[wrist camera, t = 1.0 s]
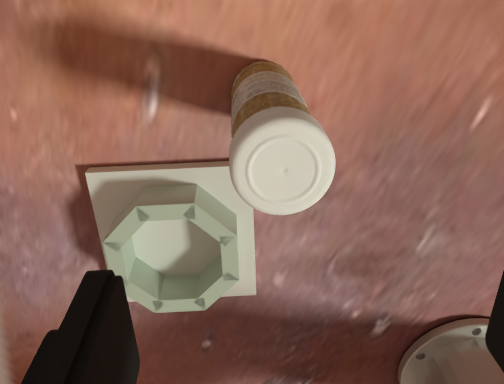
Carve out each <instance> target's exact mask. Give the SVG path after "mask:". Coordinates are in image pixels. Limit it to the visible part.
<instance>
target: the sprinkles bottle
mask: <svg viewBox="0 0 504 384" xmlns="http://www.w3.org/2000/svg"><path fill="white" fill-rule="evenodd" d="M231 99H232V108H231V133H232V141H231V144H230V149H229V170H230V177H231V181H232V184H233V186H234V188H235V190H236V192H237V193H238V195H239V196H240V197H241V198H242V199H243V200H244V201H245V202H246V203H247V204H248V205H249V206H251V207H252V208H254V209H256V210H258V211H261V212H264V213H267V214H273V215H289V214H293V213H297V212H300V211H303V210H305V209H307V208H309V207H310V206H312V205H313V204H315V203H316V202H317V201H318V200H319V199H321V198H322V196H323V195H324V194H325V193H326V191H327V190H328V188H329V186H330V184H331V182H332V180H333V177H334V172H335V154H334V150H333V147H332V145H331V142H330V140H329V138H328V136H327V135H326V133H325V131H324V129H323V128H322V126H321V125H320V124H319V123H318V121H317V120H315V119H314V118H313V117H312V116H311V114H310V112H309V110H308V107H307V105H306V103H305V101H304V99H303V97H302V96H301V94H300V92H299V91H298V89H297V87H296V86H295V84H294V81H293V79H292V77H291V76H290V74H289V73H288V72H287V71H286V70H285V69H284V68H283V67H282V66H280V65H278V64H275V63H273V62H268V61H260V62H254V63H252V64H250V65H248V66H246V67H245V68H243V69H242V70H241V71H240V72H239V73H238V75H237V76H236V78H235V80H234V83H233V85H232V89H231Z"/></svg>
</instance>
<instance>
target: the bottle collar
mask: <svg viewBox="0 0 504 384" xmlns="http://www.w3.org/2000/svg"><path fill="white" fill-rule="evenodd" d="M85 176H86V180H87V184H88V189H89V193H90V198H91V202H92V206H93V211H94V215H95V220H96V224H97V228H98V233H99V237H100V241H101V246H102V250H103V255H104V259H105V263H106V268H107V270H113V272H114V273H115V276H117V275H120V276H122V278H123V282H124V287H125V291H126V296H127V301H128V302H134V301H136V302H138V303H140V304H141V305H143V306H144V307H146V308H148V309H149V310H151V311H152V312H154V313H165V312H183V311H201V310H206V309H207V308H209V307H210V306H211V305H212V304H213V303H214V302H215V301H216V300H217V299H219V298H220V297H227V296H246V295H256V273H255V245H254V218H253V208H252V207H251V206H249V205H248V204H247V203H246V202H245V201H244V200H243V199H242V198H241V197H240V196H239V195H238V193H237V192H236V190H235V188H234V186H233V184H232V181H231V177H230V170H229V161H217V162H196V163H175V164H153V165H132V166H110V167H89V168H88V170H87V171H86V172H85Z"/></svg>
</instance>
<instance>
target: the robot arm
mask: <svg viewBox="0 0 504 384" xmlns="http://www.w3.org/2000/svg"><path fill="white" fill-rule="evenodd" d="M139 364H140V360H139V352H138V348H137V343H136V338H135V334H134V329H133V324H132V320H131V315H130V310H129V305H128V301H127V296H126V291H125V287H124V282H123V278H122V276H120V275H117V276H115V273H114V272H113V270H96V271H87V272H86V274H85V275H84V277H83V279H82V281H81V284H80V286H79V288H78V290H77V292H76V294H75V296H74V298H73V300H72V302H71V304H70V307H69V309H68V311H67V313H66V315H65V317H64V319H63V321H62V323H61V325H60V327H59V329H57V330H51V331H49V332H48V333H47V334H46V336H45V337H44V339H43V341H42V343H41V345H40V347H39V349H38V351H37V353H36V355H35V357H34V359H33V361H32V363H31V365H30V367H29V369H28V371H27V373H26V375H25V377H24V379H23V381H22V383H21V384H136V381H137V377H138V372H139ZM398 382H399V384H504V271H503V275H502V278H501V282H500V285H499V289H498V292H497V296H496V299H495V303H494V306H493V310H492V313H491V317H490V319H485V318H469V319H463V320H457V321H454V322H450V323H447V324H444V325H442V326H439V327H437V328H435V329H433V330H431V331H429V332H428V333H426V334H425V335H423V336H422V337H420V338H419V339H418V340H417V341H416V342H415V343H413V344H412V345H411V347H410V348H409V349H408V350H407V351H406V353H405V354H404V356H403V358H402V360H401V361H400V364H399V368H398Z"/></svg>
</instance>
